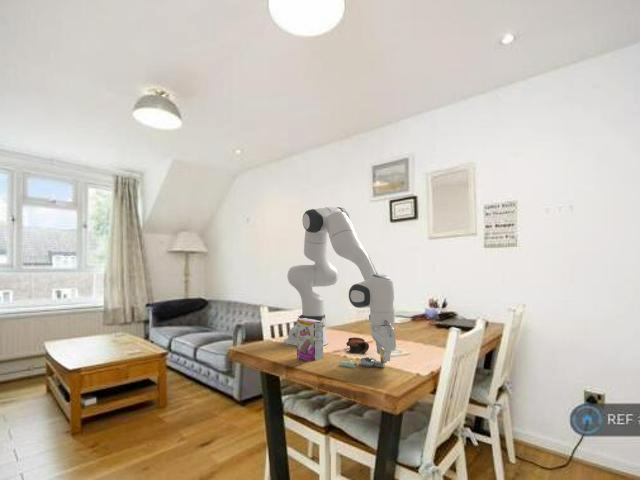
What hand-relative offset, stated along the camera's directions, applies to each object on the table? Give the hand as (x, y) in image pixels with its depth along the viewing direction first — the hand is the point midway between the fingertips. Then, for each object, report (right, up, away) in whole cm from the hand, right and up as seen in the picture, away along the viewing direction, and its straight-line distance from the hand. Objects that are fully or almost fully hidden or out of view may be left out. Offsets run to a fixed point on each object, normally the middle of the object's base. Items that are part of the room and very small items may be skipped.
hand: (383, 357), depth 119 cm
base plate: (-5, -6, +3) cm, 8 cm away
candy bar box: (-27, -7, +14) cm, 32 cm away
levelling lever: (-3, -4, +2) cm, 5 cm away
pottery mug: (-7, -7, +23) cm, 25 cm away
